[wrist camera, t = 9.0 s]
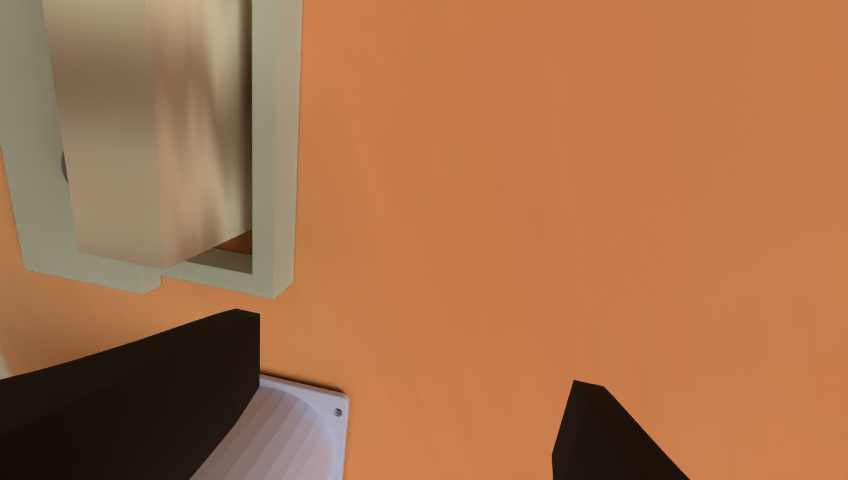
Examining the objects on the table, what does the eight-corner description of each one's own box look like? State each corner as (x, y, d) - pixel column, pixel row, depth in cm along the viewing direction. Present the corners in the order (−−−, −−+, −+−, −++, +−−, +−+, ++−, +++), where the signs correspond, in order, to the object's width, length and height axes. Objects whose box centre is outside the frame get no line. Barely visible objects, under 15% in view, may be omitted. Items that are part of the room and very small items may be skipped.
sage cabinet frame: (292, 312, 21) (272, 332, 19) (47, 261, 23) (7, 275, 21) (308, -178, 15) (281, -221, 13) (-31, -197, 16) (-99, -237, 15)
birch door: (258, 226, 20) (164, 269, 14) (193, 214, 20) (78, 252, 15) (259, -60, 16) (133, -152, 11) (180, -67, 17) (18, -160, 11)
